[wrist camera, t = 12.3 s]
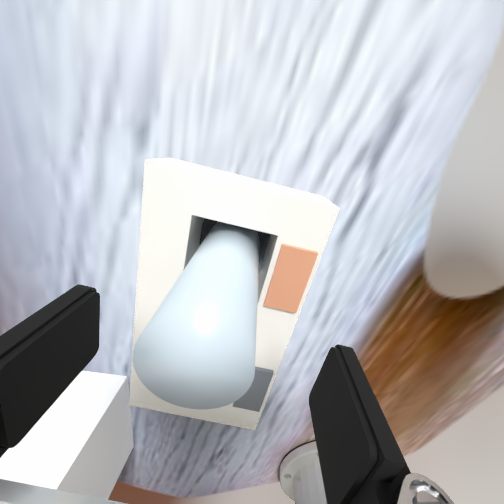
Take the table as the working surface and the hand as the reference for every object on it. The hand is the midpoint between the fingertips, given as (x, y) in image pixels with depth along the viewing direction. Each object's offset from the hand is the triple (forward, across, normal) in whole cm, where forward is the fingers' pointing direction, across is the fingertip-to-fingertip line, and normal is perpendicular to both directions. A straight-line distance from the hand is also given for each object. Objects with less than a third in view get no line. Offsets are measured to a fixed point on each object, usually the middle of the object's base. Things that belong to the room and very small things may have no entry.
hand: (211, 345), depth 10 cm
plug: (+10, 0, -1) cm, 10 cm away
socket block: (+10, 0, +4) cm, 11 cm away
